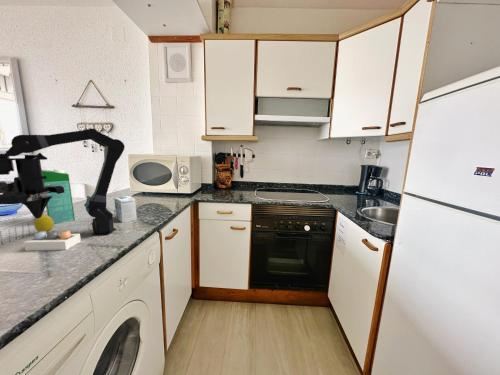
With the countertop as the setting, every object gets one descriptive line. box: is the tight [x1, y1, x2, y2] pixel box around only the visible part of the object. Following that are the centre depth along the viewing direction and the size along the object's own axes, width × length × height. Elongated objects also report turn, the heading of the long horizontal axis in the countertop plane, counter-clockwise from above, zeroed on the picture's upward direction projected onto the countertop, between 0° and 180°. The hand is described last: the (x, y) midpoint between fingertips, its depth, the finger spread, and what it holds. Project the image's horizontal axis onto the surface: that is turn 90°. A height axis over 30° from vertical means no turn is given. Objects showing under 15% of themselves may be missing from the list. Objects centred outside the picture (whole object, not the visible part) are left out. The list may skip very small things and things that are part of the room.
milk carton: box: [42, 168, 76, 225], centre depth 100 cm, size 9×9×25 cm
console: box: [23, 233, 82, 252], centre depth 75 cm, size 7×13×3 cm, turn 94°
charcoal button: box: [46, 230, 60, 240], centre depth 74 cm, size 3×3×3 cm
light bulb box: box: [113, 195, 138, 223], centre depth 104 cm, size 11×7×11 cm, turn 47°
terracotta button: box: [58, 230, 72, 240], centre depth 75 cm, size 3×3×3 cm
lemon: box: [34, 214, 55, 234], centre depth 85 cm, size 6×6×8 cm
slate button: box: [33, 231, 47, 240], centre depth 74 cm, size 3×3×3 cm
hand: (38, 218), depth 73 cm, fingers closed
